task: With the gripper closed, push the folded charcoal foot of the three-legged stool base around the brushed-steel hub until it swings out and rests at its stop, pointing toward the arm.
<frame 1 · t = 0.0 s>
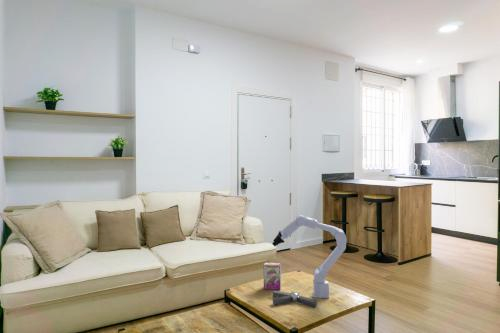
hand: (273, 243, 208), 32 cm above the table, tool tilted 50°, fingers open, 7 cm apart
folding foot: (281, 295, 203), point 2 cm above the table, hinge at 0.0°, touching stool base
stool base: (294, 300, 199), on the table
candy bar box: (272, 288, 218), on the table
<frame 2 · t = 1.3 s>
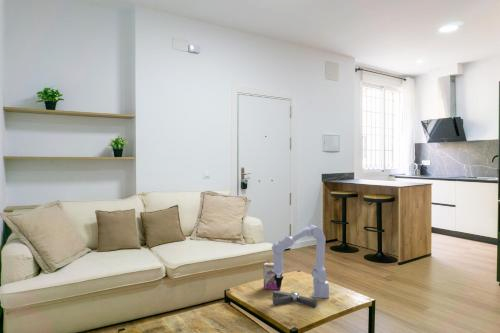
hand: (278, 285, 199), 9 cm above the table, tool pointing down, fingers open, 6 cm apart
nothing on the table moved.
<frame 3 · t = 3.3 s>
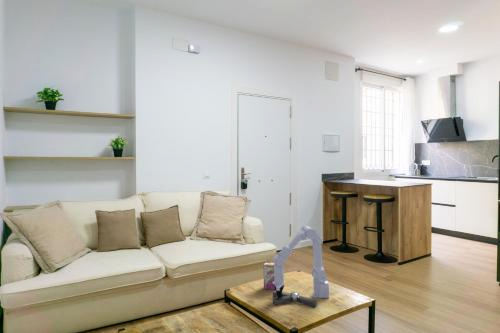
hand: (279, 297, 200), 1 cm above the table, tool pointing down, fingers closed
folding foot: (281, 295, 203), point 2 cm above the table, hinge at 0.0°, touching gripper, stool base
everything else where it was.
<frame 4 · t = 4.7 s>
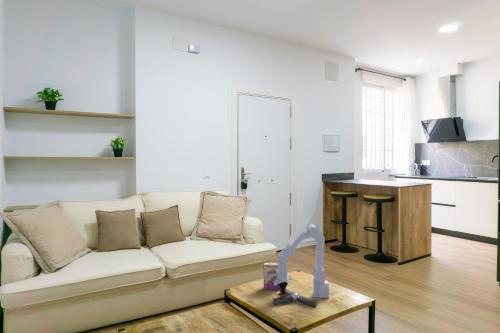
hand: (282, 293, 206), 2 cm above the table, tool pointing down, fingers closed, pressing on folding foot
folding foot: (286, 292, 206), point 2 cm above the table, hinge at 30.8°, touching gripper
everything else where it was.
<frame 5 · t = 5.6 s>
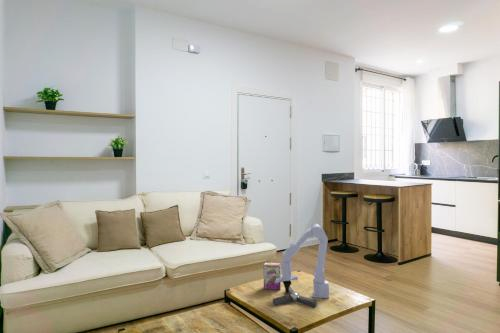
hand: (286, 292, 207), 2 cm above the table, tool pointing down, fingers closed, pressing on folding foot
folding foot: (290, 291, 207), point 2 cm above the table, hinge at 50.1°, touching gripper
everything else where it was.
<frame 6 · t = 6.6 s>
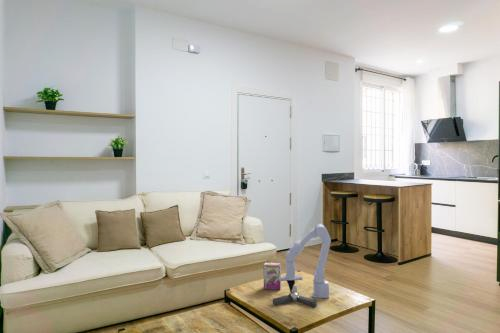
hand: (290, 291, 208), 2 cm above the table, tool pointing down, fingers closed
folding foot: (294, 291, 207), point 2 cm above the table, hinge at 68.2°, touching gripper
everything else where it was.
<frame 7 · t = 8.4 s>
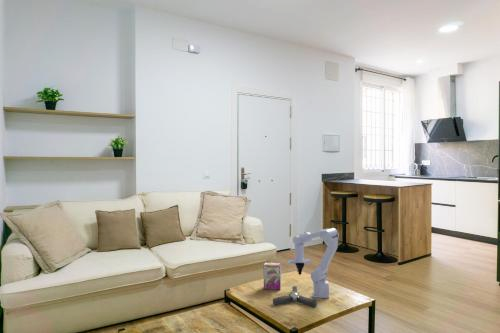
hand: (299, 274, 217), 9 cm above the table, tool pointing down, fingers closed
folding foot: (294, 291, 207), point 2 cm above the table, hinge at 68.4°
everything else where it was.
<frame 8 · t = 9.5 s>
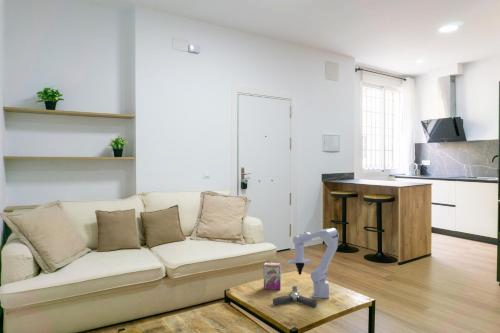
hand: (299, 274, 217), 9 cm above the table, tool pointing down, fingers closed
nothing on the table moved.
at the end: folding foot at +68° (first picture: +0°); candy bar box moved 0.2 cm from its start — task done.
